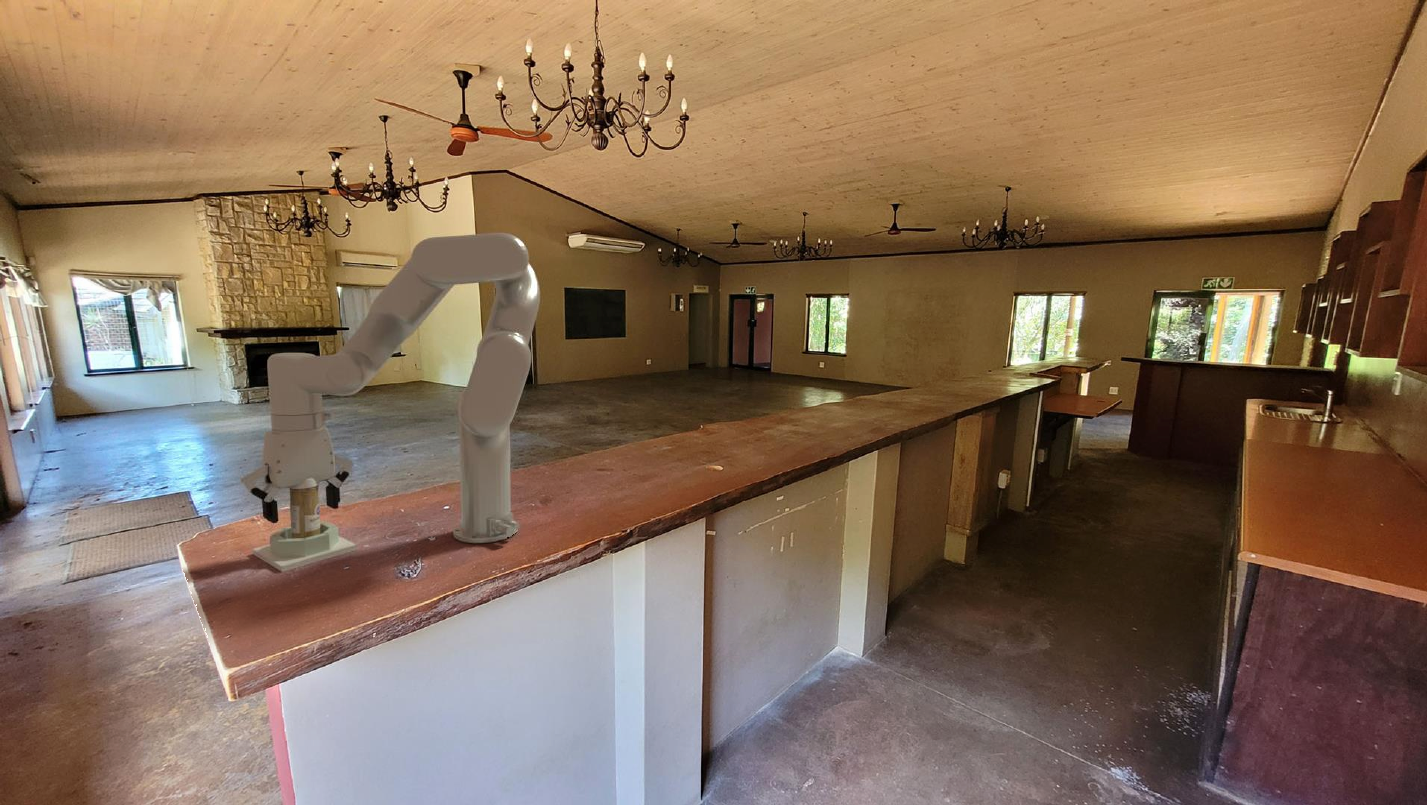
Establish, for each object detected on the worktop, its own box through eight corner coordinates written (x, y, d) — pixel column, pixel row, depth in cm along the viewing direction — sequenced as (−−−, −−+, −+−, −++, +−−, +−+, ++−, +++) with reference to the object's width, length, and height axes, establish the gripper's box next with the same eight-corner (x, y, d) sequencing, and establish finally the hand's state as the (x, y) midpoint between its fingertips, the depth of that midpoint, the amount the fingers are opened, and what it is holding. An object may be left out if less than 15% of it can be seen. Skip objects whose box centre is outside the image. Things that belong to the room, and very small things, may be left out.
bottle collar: (357, 549, 106) (356, 529, 106) (282, 571, 96) (280, 549, 96) (326, 534, 113) (325, 515, 112) (253, 554, 103) (251, 533, 102)
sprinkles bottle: (321, 548, 104) (318, 477, 102) (290, 552, 101) (286, 479, 100) (321, 540, 108) (319, 471, 106) (292, 544, 105) (288, 473, 103)
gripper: (340, 414, 110) (344, 498, 113) (229, 425, 96) (236, 522, 98) (359, 419, 106) (364, 506, 109) (247, 432, 92) (254, 532, 94)
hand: (303, 514), depth 104 cm, fingers open, 9 cm apart
